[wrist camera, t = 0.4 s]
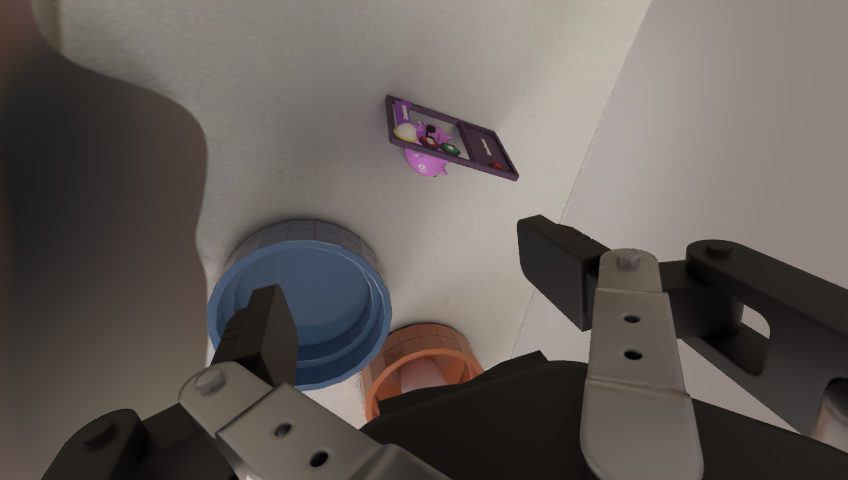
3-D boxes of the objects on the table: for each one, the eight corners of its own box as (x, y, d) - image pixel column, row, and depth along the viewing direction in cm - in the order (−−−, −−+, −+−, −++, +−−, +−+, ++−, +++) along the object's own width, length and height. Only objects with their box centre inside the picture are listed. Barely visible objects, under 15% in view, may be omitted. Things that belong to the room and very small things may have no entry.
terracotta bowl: (345, 345, 36) (348, 375, 32) (462, 306, 37) (477, 331, 34) (378, 429, 41) (383, 464, 37) (480, 392, 42) (495, 422, 38)
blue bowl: (191, 246, 29) (170, 273, 25) (360, 198, 31) (366, 217, 27) (258, 374, 35) (250, 413, 31) (399, 327, 36) (409, 359, 32)
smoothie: (378, 359, 37) (407, 507, 24) (442, 336, 38) (503, 467, 25) (396, 407, 40) (431, 561, 27) (456, 384, 40) (517, 525, 28)
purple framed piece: (526, 168, 26) (395, 126, 23) (489, 227, 29) (369, 197, 26) (499, 123, 31) (389, 84, 28) (470, 177, 34) (368, 147, 31)
